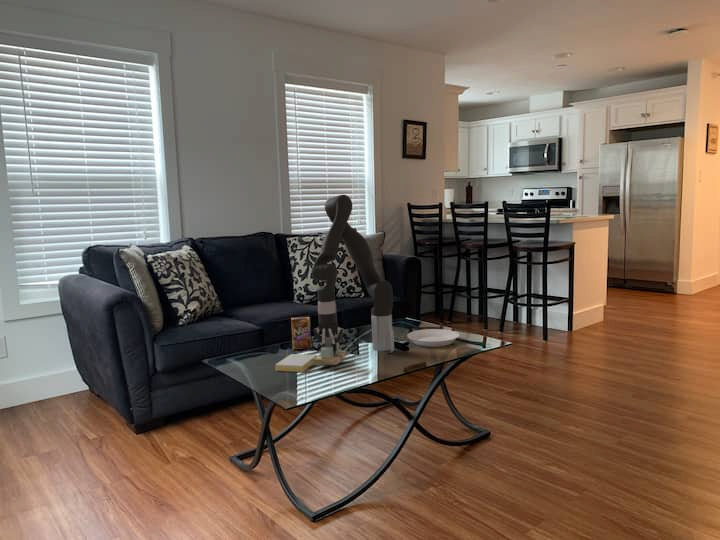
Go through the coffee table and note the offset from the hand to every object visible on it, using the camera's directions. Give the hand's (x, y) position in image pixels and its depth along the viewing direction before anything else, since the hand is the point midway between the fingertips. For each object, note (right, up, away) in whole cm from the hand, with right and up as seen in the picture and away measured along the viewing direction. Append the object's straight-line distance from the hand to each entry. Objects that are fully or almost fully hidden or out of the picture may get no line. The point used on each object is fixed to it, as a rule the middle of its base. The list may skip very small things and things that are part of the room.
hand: (330, 351), depth 232 cm
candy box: (-15, -4, +35) cm, 38 cm away
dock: (-14, -7, +2) cm, 16 cm away
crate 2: (+1, -1, +4) cm, 4 cm away
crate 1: (-1, -2, -3) cm, 4 cm away
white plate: (+48, -1, +36) cm, 60 cm away
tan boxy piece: (0, -3, 0) cm, 3 cm away
